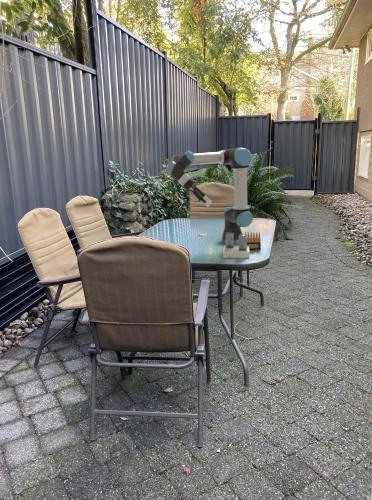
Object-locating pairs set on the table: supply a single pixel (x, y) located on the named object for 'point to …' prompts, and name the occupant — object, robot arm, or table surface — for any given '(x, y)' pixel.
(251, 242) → the ammunition clip
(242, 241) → the cylinder
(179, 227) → the table surface
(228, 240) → the ball
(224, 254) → the scale
